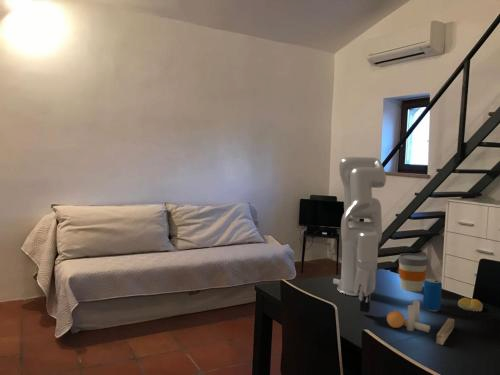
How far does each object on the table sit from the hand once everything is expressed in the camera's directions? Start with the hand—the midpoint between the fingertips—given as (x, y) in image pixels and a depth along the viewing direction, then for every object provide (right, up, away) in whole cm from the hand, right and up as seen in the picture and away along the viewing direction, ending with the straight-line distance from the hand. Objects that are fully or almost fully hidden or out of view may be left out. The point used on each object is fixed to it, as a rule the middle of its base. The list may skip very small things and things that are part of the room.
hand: (364, 311), depth 166 cm
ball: (+8, 0, -11) cm, 14 cm away
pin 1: (+13, -3, -13) cm, 18 cm away
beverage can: (+29, -2, +8) cm, 30 cm away
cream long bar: (+23, -4, -17) cm, 29 cm away
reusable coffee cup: (+30, +1, +34) cm, 45 cm away
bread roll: (+46, -2, +10) cm, 47 cm away
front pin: (+12, -2, -9) cm, 15 cm away
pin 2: (+16, -3, -8) cm, 18 cm away
